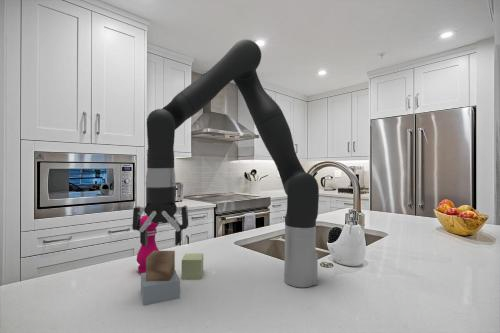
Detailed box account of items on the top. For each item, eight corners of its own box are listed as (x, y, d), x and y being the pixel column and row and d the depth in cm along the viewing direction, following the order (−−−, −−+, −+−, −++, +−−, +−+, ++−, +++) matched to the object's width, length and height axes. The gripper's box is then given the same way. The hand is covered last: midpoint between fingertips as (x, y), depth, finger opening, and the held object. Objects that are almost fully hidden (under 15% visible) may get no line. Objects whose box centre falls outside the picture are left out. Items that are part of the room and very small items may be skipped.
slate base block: (173, 285, 78) (174, 268, 78) (179, 299, 70) (180, 280, 70) (140, 291, 74) (141, 273, 74) (143, 306, 66) (143, 286, 66)
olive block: (203, 271, 88) (203, 253, 88) (201, 279, 82) (201, 259, 82) (184, 271, 88) (185, 253, 88) (181, 279, 82) (181, 260, 82)
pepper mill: (134, 276, 83) (135, 212, 83) (138, 267, 90) (138, 208, 90) (159, 274, 85) (159, 211, 85) (160, 265, 92) (161, 208, 92)
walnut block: (174, 271, 76) (174, 250, 76) (169, 280, 70) (169, 258, 70) (153, 271, 75) (153, 250, 75) (145, 281, 69) (146, 258, 69)
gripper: (189, 183, 76) (189, 240, 76) (138, 184, 75) (138, 241, 75) (185, 185, 69) (185, 248, 69) (128, 186, 68) (128, 250, 68)
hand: (161, 244), depth 72 cm, fingers open, 8 cm apart
